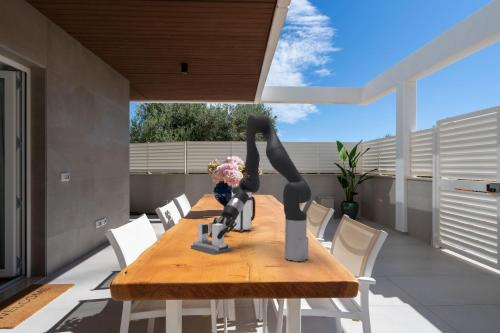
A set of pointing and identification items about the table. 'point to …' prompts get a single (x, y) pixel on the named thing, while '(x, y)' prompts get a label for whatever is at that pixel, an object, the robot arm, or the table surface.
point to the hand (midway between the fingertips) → (214, 237)
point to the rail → (221, 250)
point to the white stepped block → (215, 231)
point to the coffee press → (245, 212)
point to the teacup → (211, 228)
